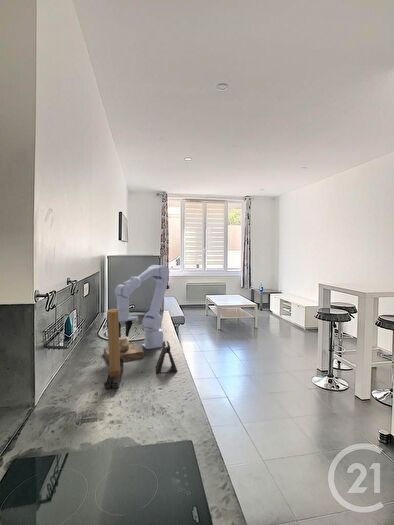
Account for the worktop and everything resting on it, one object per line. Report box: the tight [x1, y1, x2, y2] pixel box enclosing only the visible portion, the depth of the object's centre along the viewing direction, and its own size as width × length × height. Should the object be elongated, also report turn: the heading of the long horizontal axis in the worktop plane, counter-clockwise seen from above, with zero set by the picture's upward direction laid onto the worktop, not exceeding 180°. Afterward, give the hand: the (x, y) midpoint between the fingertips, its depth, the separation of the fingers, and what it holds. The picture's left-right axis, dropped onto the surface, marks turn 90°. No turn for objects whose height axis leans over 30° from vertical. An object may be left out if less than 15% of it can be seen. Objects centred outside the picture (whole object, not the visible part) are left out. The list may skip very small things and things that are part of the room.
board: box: [103, 342, 145, 362], centre depth 148 cm, size 16×14×3 cm
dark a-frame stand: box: [155, 340, 178, 375], centre depth 130 cm, size 9×6×12 cm, turn 100°
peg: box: [119, 336, 130, 351], centre depth 148 cm, size 5×5×8 cm
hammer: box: [103, 308, 125, 389], centre depth 117 cm, size 20×5×30 cm, turn 7°
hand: (123, 336), depth 148 cm, fingers open, 3 cm apart
